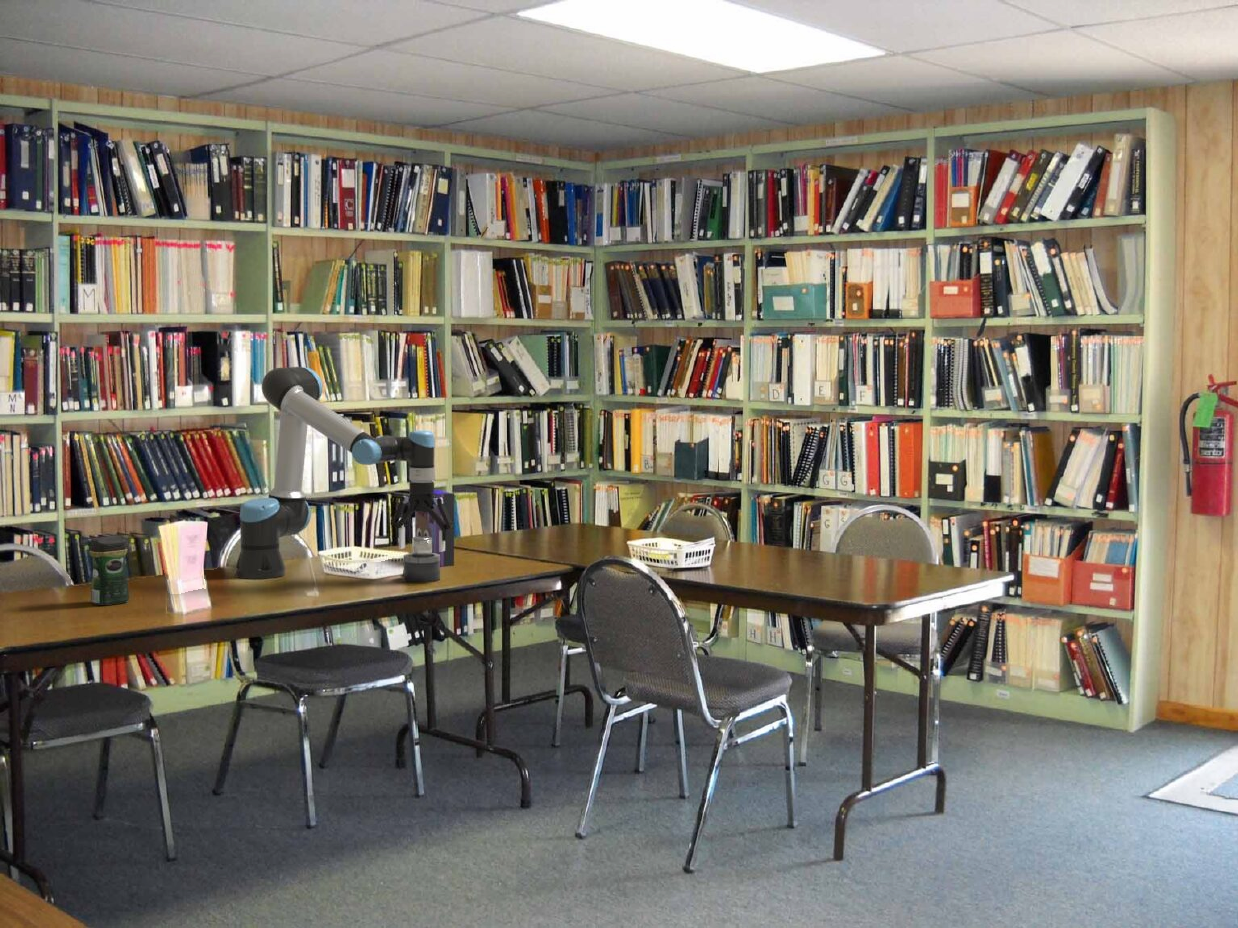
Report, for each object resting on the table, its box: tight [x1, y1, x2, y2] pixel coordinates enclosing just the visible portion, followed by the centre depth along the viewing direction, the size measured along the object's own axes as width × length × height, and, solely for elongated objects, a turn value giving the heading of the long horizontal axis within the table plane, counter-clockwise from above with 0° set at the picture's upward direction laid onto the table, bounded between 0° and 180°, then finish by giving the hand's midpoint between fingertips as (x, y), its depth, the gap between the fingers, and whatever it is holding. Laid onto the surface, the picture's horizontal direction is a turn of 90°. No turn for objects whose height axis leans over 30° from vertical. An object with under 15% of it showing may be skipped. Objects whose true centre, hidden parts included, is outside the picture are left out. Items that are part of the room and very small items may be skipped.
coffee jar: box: [89, 535, 130, 606], centre depth 369 cm, size 10×8×19 cm
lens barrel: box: [403, 552, 441, 584], centre depth 411 cm, size 11×11×8 cm
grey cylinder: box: [411, 536, 432, 558], centre depth 410 cm, size 6×6×7 cm
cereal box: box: [414, 489, 455, 568], centre depth 442 cm, size 17×5×24 cm, turn 37°
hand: (421, 549), depth 410 cm, fingers open, 13 cm apart
